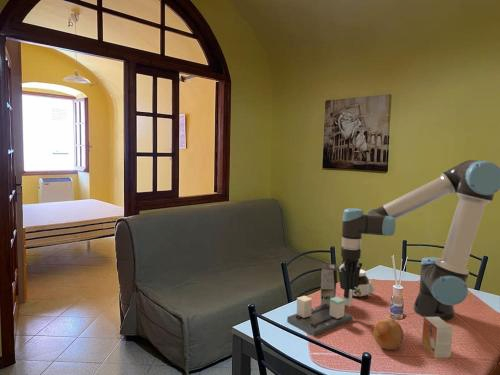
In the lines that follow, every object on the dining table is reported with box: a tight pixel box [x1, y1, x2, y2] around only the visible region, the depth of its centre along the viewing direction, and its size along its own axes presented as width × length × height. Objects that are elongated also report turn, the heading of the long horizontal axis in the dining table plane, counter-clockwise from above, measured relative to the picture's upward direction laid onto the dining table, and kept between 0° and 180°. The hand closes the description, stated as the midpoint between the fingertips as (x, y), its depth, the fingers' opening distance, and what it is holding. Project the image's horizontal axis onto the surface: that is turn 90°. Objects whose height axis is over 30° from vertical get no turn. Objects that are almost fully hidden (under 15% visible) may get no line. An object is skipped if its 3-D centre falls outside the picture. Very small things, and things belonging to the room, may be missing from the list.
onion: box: [373, 318, 404, 351], centre depth 127 cm, size 10×10×10 cm
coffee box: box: [320, 263, 338, 305], centre depth 165 cm, size 9×6×16 cm
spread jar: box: [352, 268, 376, 299], centre depth 174 cm, size 12×11×12 cm
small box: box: [421, 316, 453, 359], centre depth 125 cm, size 8×6×10 cm
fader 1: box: [296, 295, 313, 318], centre depth 147 cm, size 4×4×7 cm
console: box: [286, 304, 354, 337], centre depth 147 cm, size 14×22×3 cm, turn 127°
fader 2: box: [329, 296, 346, 319], centre depth 146 cm, size 4×4×7 cm
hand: (347, 304), depth 151 cm, fingers closed
